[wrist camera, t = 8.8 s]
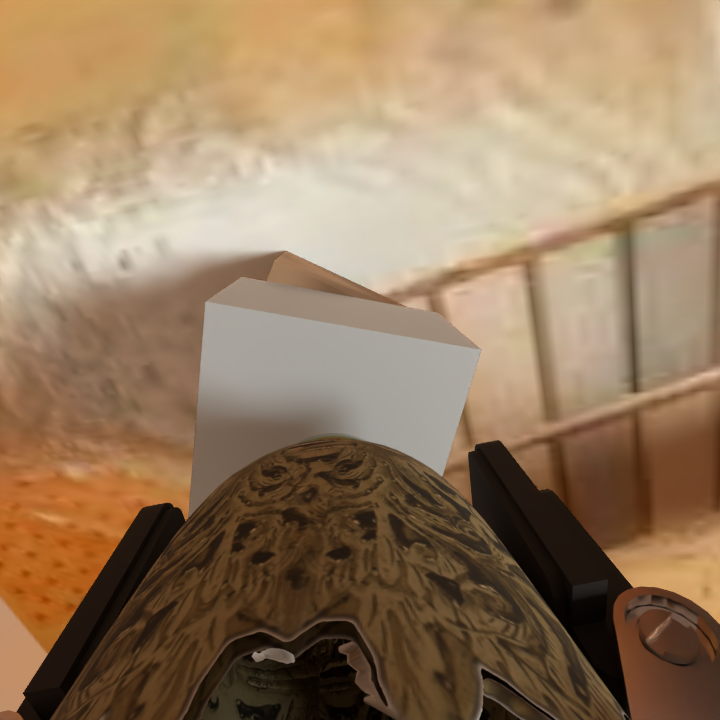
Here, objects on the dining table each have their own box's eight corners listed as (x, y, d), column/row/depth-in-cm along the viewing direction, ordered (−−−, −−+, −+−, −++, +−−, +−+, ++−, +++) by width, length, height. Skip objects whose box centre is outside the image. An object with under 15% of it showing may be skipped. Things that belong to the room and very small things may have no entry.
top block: (437, 312, 17) (481, 349, 12) (395, 474, 19) (417, 557, 15) (241, 276, 16) (205, 301, 11) (222, 453, 18) (186, 536, 13)
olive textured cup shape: (224, 595, 12) (66, 1180, 5) (164, 373, 10) (-350, 862, 2) (463, 563, 13) (661, 1064, 5) (462, 340, 10) (840, 679, 3)
